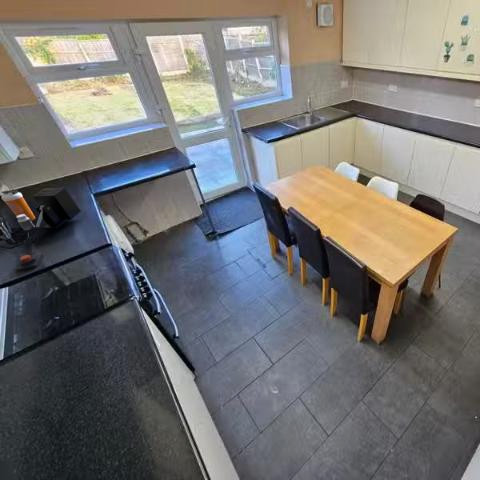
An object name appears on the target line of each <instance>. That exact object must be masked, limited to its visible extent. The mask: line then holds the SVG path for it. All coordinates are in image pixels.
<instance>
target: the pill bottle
mask: <svg viewBox="0 0 480 480" xmlns="http://www.w3.org/2000/svg"><path fill="white" fill-rule="evenodd" d="M15 216H16V215H15ZM16 219H17V222H18V224H19V225H20V226H21V228H22V229H23V231H30V230H32V229H31V227H36V225H35V224H34V222H33V221H31V220H30V219H29V218H28V217H26V215H25V214H22V215H18V216H16Z"/></svg>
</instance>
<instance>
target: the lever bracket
mask: <svg viewBox="0 0 480 480" xmlns="http://www.w3.org/2000/svg"><path fill="white" fill-rule="evenodd" d="M40 206H43V205H42V204H40V205H39V204H38V205H37V206H36V207H34V209H35V211H36V212H37V213H38V215H40V212H41V210H39V209H40ZM42 209H43V210H44V214H43V217H42V220H43V221H44V223H46V224H45V225H44V226H43V227H44V228H43V229H42V230H57V229H59V228H60V227H62V225H64V224H65V223H66V222H67V221H68V220H67V218H62V219H59V217H58V216H57V215H56V213H55V212H54V211H53V209H52V208H51V207H50V206H49V204H46V205H45V206H43V207H42Z"/></svg>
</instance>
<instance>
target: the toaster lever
mask: <svg viewBox="0 0 480 480" xmlns="http://www.w3.org/2000/svg"><path fill="white" fill-rule="evenodd" d="M42 207H43V206H40V209H39V210H41V212H40V214H39V215H38V219H37V222H36V224H35V227H31V229H30V230H31V231H38V230H44V229H43V228H44V226H41V223H42V221H43V218H42V217H43V214H44V210H43V209H42Z"/></svg>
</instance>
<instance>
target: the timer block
mask: <svg viewBox="0 0 480 480" xmlns="http://www.w3.org/2000/svg"><path fill="white" fill-rule="evenodd" d="M29 255H30V257H31V259H30V260H28V261H25V262H23V261H22V260H21V259H19V260H18V266H17V267H16V268H15V271H16V272H21V271H27V270H30V269H36V268H38V267H39V265H40V264H41V263H42V261H43V260H44V257H45V256H44V255H43V254H42V253H37V254H29Z"/></svg>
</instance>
